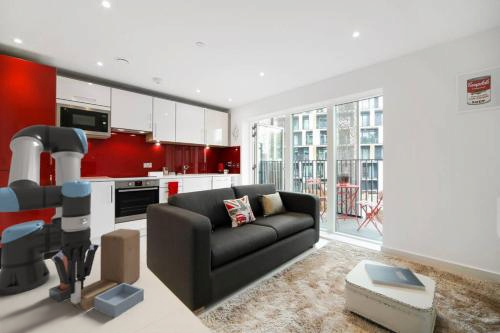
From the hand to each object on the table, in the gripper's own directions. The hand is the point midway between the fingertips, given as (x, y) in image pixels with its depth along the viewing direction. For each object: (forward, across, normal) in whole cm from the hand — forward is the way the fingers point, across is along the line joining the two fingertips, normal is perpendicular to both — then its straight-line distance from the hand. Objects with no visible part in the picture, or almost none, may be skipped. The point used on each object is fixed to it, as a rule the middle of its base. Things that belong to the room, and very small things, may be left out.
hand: (75, 301), depth 73 cm
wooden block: (+2, +16, +1) cm, 16 cm away
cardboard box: (+2, +6, -1) cm, 6 cm away
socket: (+2, +3, +11) cm, 12 cm away
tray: (+2, +7, -11) cm, 13 cm away
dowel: (+2, +3, +11) cm, 12 cm away
